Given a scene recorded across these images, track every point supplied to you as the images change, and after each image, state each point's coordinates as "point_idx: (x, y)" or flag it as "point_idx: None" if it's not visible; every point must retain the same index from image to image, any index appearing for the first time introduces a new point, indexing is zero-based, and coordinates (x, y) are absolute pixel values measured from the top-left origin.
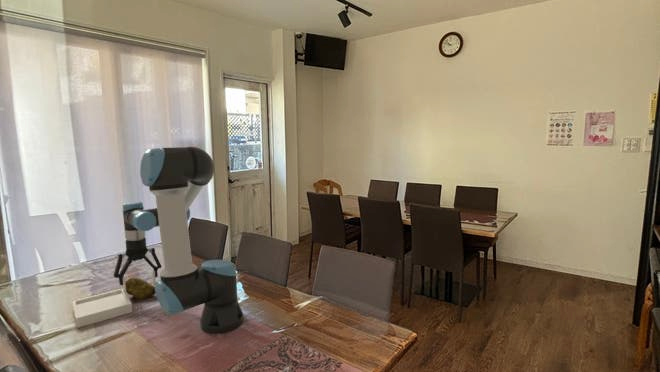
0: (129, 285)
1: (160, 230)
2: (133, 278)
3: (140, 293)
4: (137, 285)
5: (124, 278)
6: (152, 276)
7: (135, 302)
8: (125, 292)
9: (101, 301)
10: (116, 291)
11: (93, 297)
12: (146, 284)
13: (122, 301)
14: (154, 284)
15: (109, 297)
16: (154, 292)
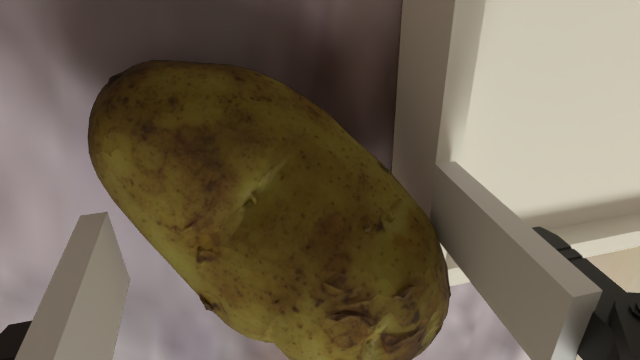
0: (417, 239)
1: None
2: (367, 357)
3: (290, 99)
4: (330, 205)
5: (573, 285)
6: (93, 346)
7: (334, 49)
8: (444, 165)
9: (608, 139)
10: None
11: (632, 225)
12: (206, 209)
13: (494, 8)
14: (95, 222)
15: (534, 191)
16: (111, 82)
